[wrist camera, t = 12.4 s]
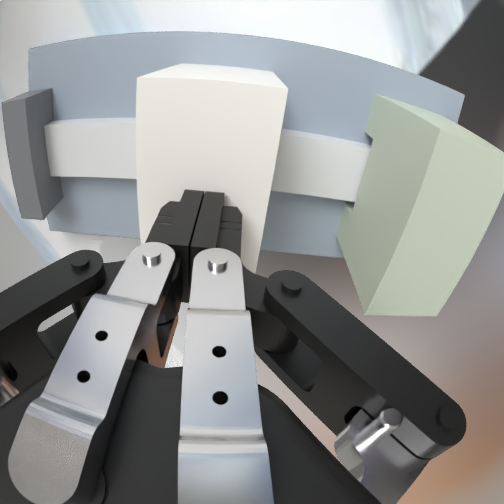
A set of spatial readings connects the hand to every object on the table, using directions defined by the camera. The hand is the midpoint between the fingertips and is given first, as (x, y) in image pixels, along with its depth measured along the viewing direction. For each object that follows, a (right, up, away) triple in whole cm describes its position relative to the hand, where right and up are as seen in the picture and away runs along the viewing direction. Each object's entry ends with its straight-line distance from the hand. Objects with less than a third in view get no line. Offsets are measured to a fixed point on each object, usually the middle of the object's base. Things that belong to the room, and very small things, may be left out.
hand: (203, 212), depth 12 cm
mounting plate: (+1, +5, +7) cm, 9 cm away
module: (0, +5, +6) cm, 8 cm away
